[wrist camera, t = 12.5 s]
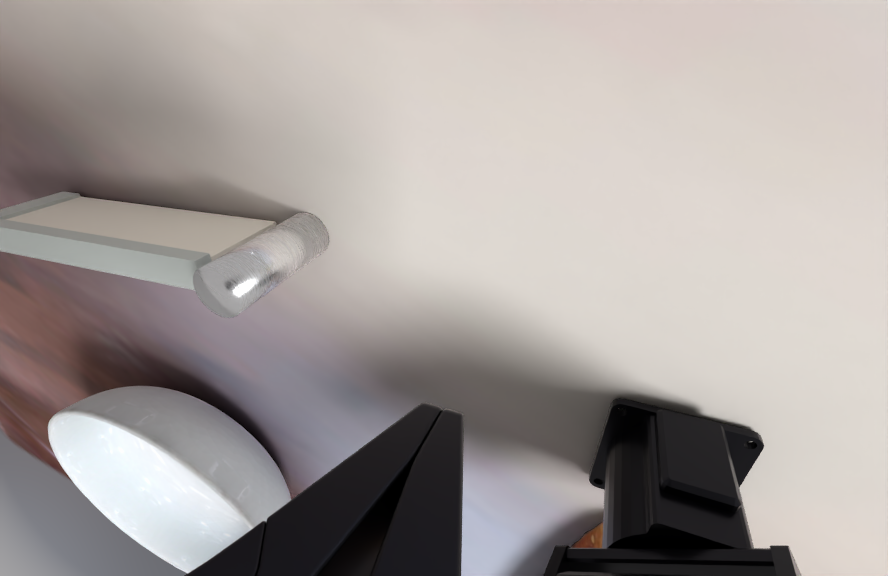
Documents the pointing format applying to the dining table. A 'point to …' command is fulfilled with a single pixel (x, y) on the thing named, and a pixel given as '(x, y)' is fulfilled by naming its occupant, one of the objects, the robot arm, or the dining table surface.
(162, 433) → the serving bowl
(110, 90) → the dining table surface
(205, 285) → the hinge post
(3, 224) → the bar
